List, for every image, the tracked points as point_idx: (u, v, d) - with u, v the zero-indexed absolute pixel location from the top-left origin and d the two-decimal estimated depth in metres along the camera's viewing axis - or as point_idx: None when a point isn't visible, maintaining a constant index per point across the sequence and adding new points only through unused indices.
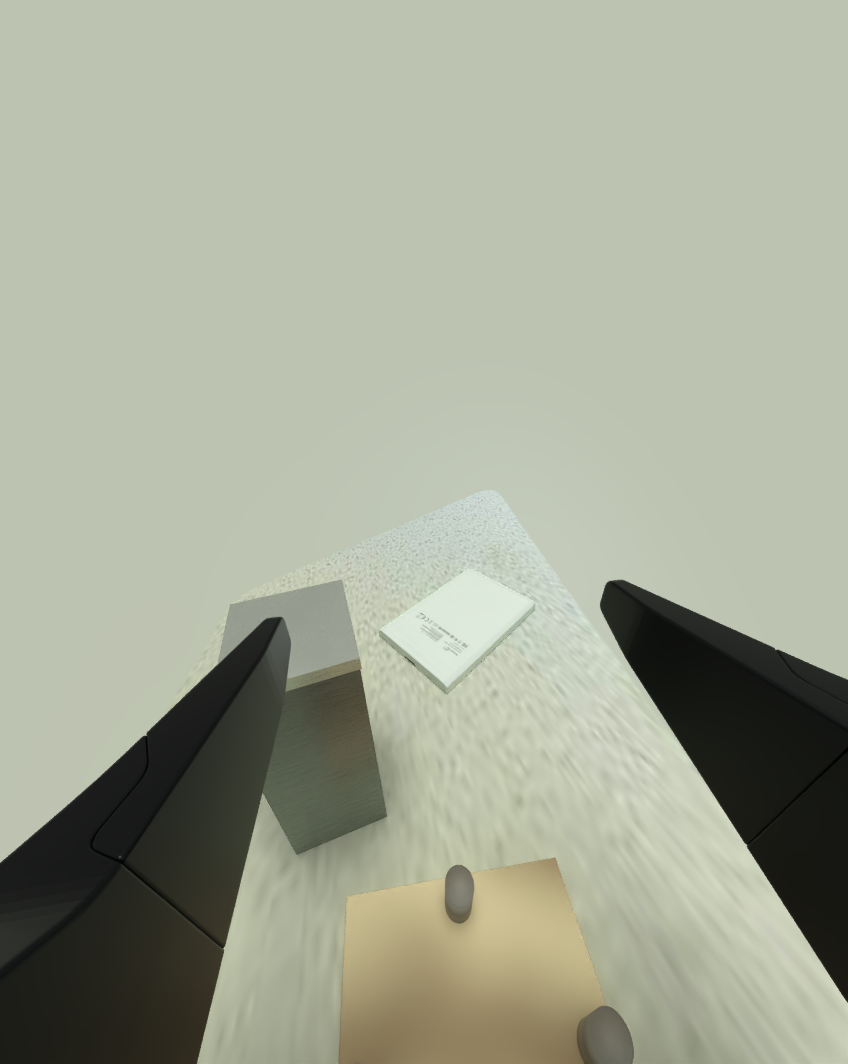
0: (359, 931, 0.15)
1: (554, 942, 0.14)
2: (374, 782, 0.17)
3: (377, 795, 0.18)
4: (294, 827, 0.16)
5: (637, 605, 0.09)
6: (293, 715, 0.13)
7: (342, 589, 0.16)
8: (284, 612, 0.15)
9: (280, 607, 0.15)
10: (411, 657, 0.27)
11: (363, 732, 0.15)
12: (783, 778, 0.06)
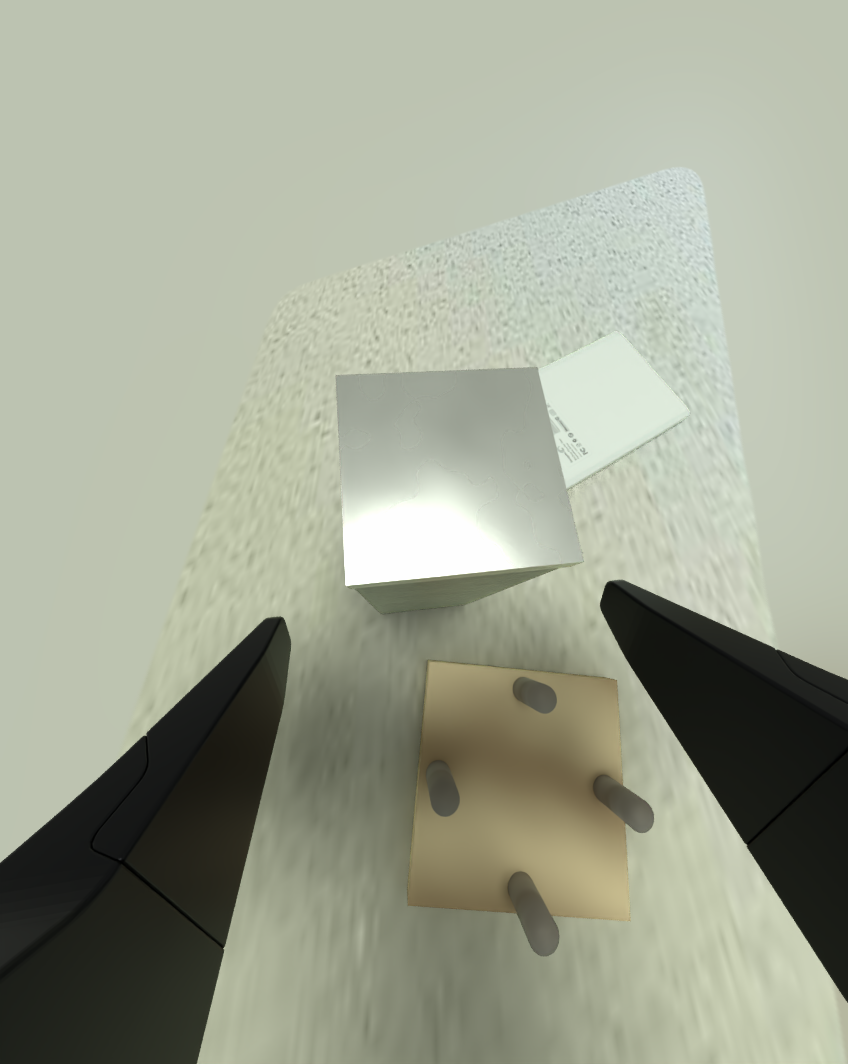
0: (439, 686, 0.17)
1: (596, 731, 0.17)
2: (475, 599, 0.16)
3: (470, 601, 0.17)
4: (388, 610, 0.17)
5: (637, 605, 0.09)
6: (442, 585, 0.09)
7: (541, 393, 0.08)
8: (440, 422, 0.08)
9: (430, 407, 0.08)
10: None
11: (501, 587, 0.12)
12: (783, 778, 0.06)
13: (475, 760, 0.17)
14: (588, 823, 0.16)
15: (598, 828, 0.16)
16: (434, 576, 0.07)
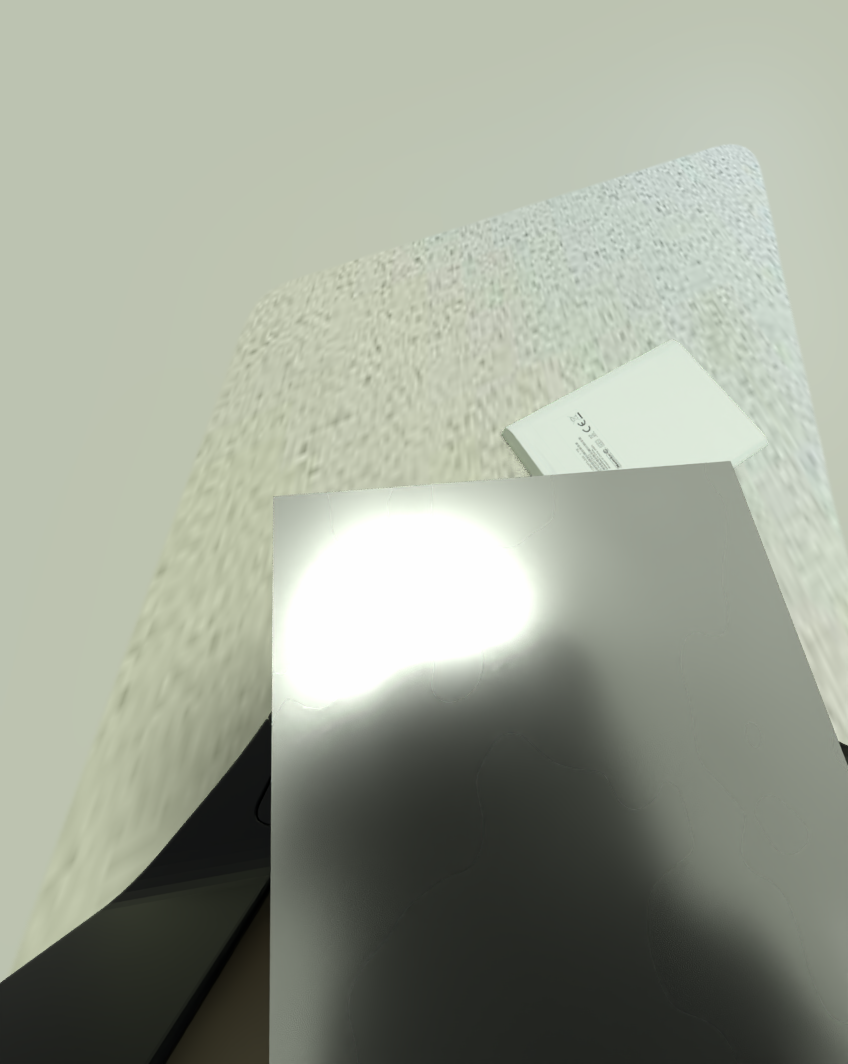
0: None
1: None
2: None
3: None
4: None
5: None
6: None
7: (751, 527, 0.04)
8: (528, 619, 0.03)
9: (497, 572, 0.03)
10: None
11: None
12: None
13: None
14: None
15: None
16: None
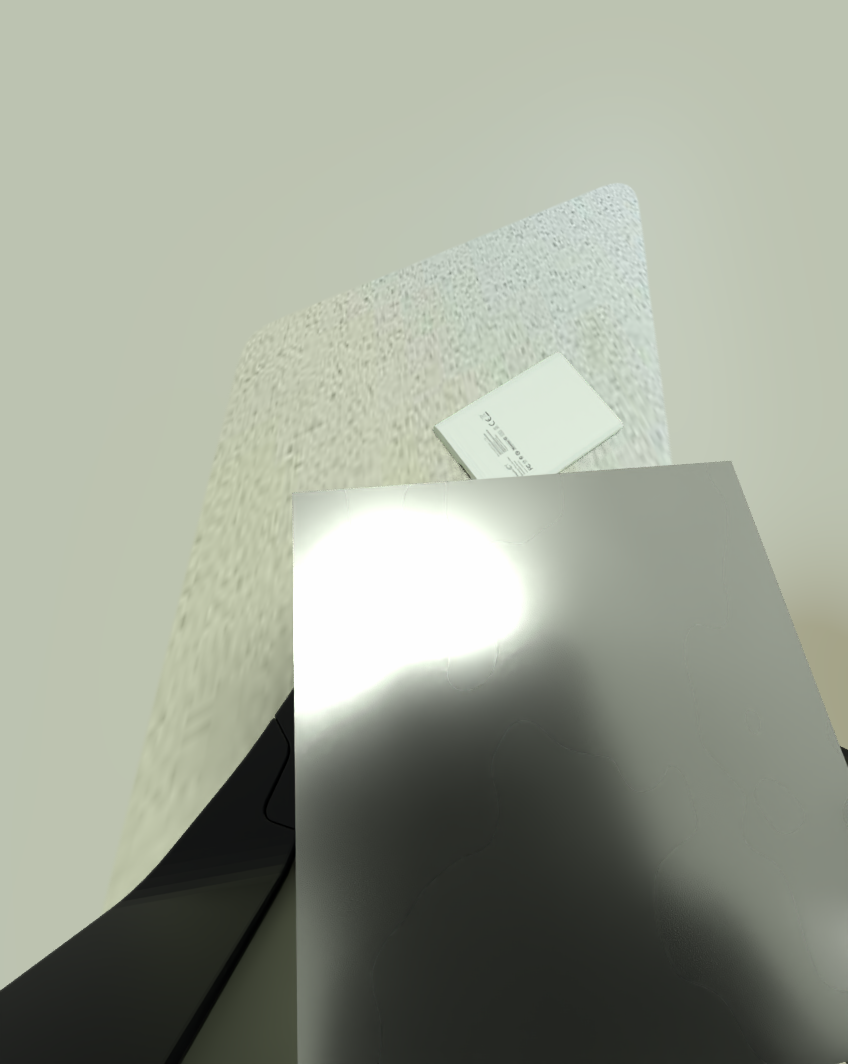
0: None
1: None
2: None
3: None
4: None
5: None
6: None
7: (750, 524, 0.04)
8: (539, 611, 0.03)
9: (509, 566, 0.03)
10: (468, 469, 0.25)
11: None
12: None
13: None
14: None
15: None
16: None
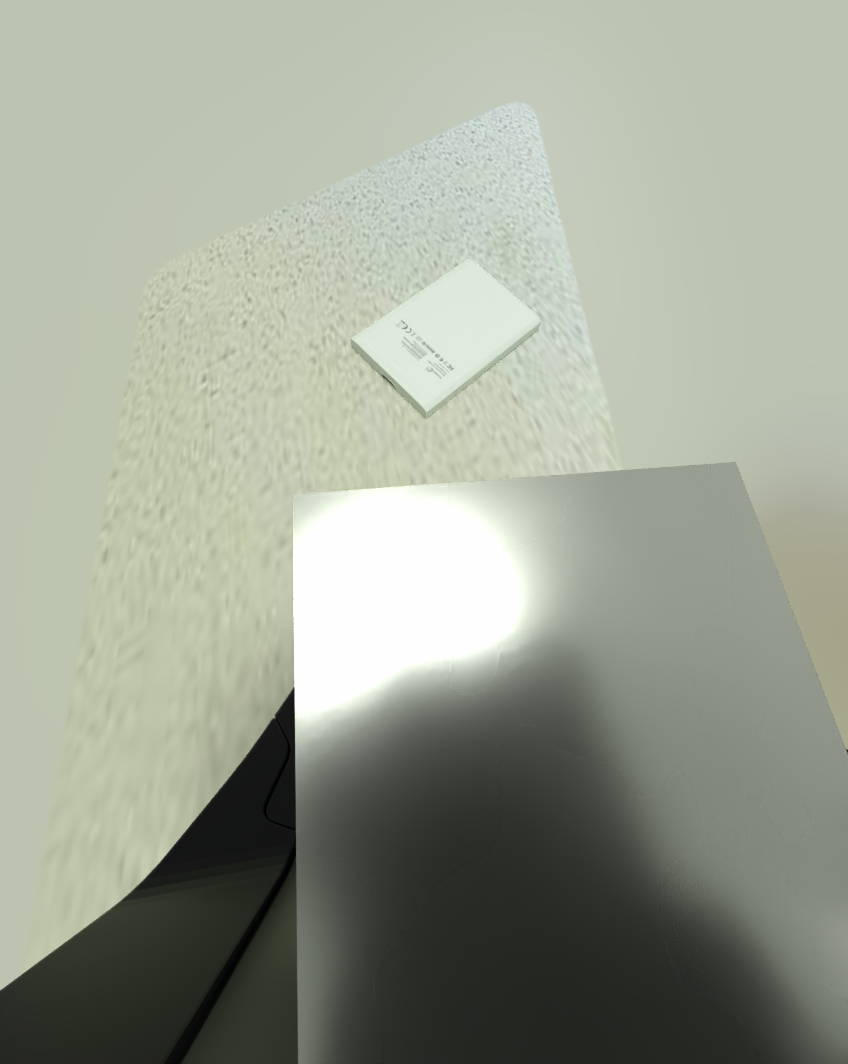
0: None
1: None
2: None
3: None
4: None
5: None
6: None
7: (755, 526, 0.04)
8: (542, 614, 0.03)
9: (512, 569, 0.03)
10: (389, 376, 0.24)
11: None
12: None
13: None
14: None
15: None
16: None
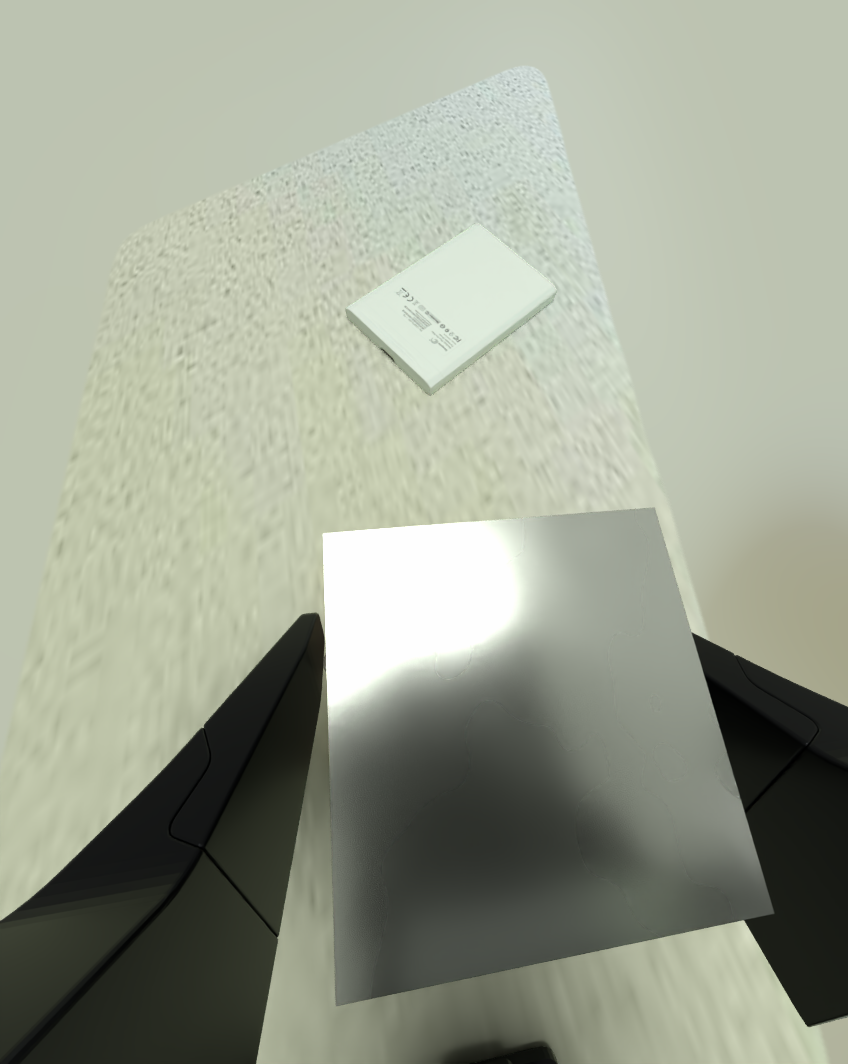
0: None
1: None
2: None
3: None
4: None
5: None
6: None
7: (665, 557, 0.05)
8: (502, 622, 0.05)
9: (483, 588, 0.05)
10: (388, 349, 0.22)
11: None
12: (737, 786, 0.06)
13: None
14: None
15: None
16: (505, 968, 0.04)
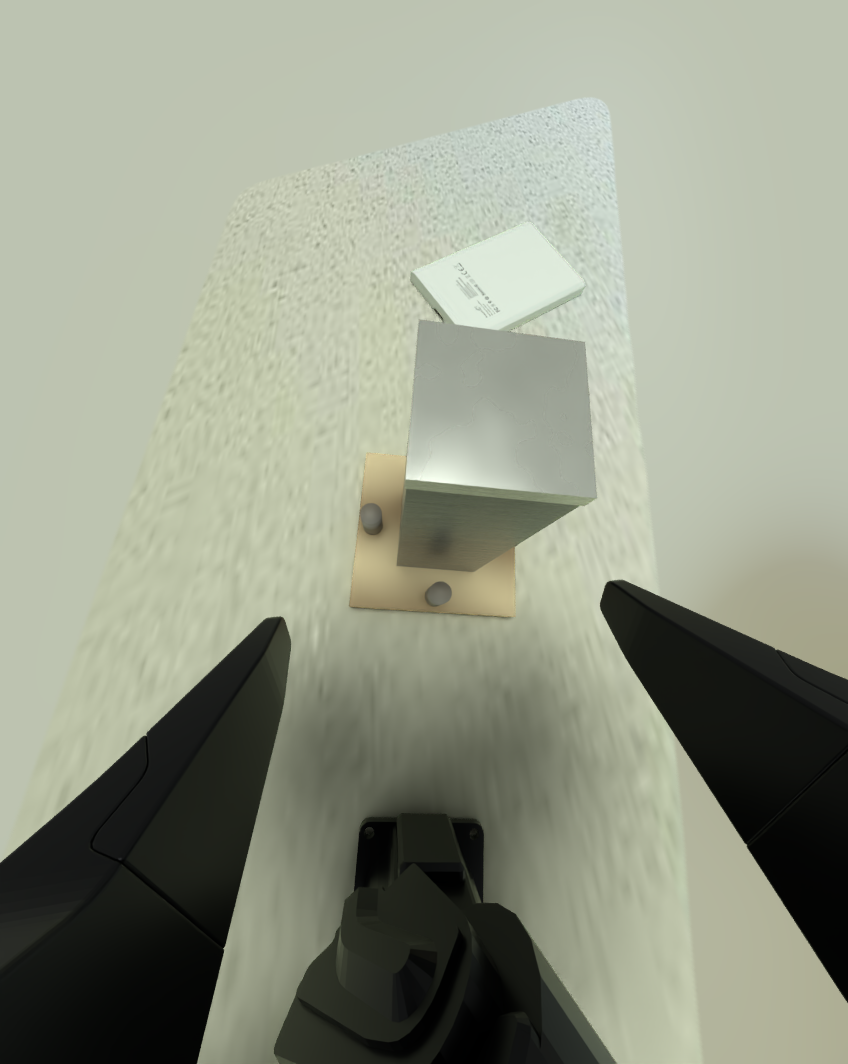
0: (374, 469, 0.22)
1: None
2: (486, 559, 0.17)
3: (480, 564, 0.19)
4: (406, 557, 0.18)
5: (637, 605, 0.09)
6: (472, 512, 0.11)
7: (584, 363, 0.10)
8: (498, 371, 0.09)
9: (491, 357, 0.10)
10: (440, 308, 0.27)
11: (516, 539, 0.13)
12: (783, 778, 0.06)
13: None
14: None
15: (494, 560, 0.22)
16: (475, 486, 0.09)
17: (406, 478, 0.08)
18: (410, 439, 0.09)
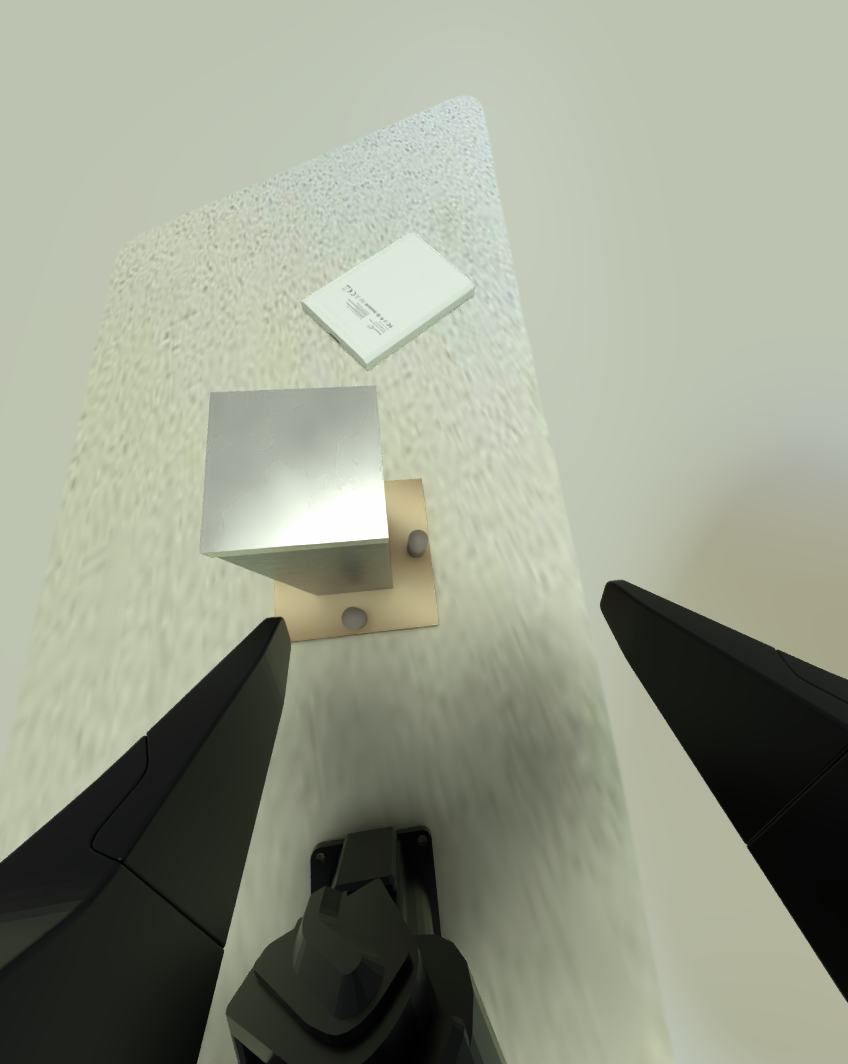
0: None
1: (407, 513, 0.23)
2: (386, 580, 0.18)
3: (388, 583, 0.19)
4: (313, 590, 0.19)
5: (637, 605, 0.09)
6: (305, 559, 0.11)
7: (375, 407, 0.10)
8: (289, 430, 0.10)
9: (283, 418, 0.10)
10: (334, 333, 0.27)
11: (381, 566, 0.14)
12: (783, 778, 0.06)
13: None
14: (404, 571, 0.22)
15: (412, 573, 0.22)
16: (269, 547, 0.09)
17: (202, 551, 0.09)
18: (203, 513, 0.09)
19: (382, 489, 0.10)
